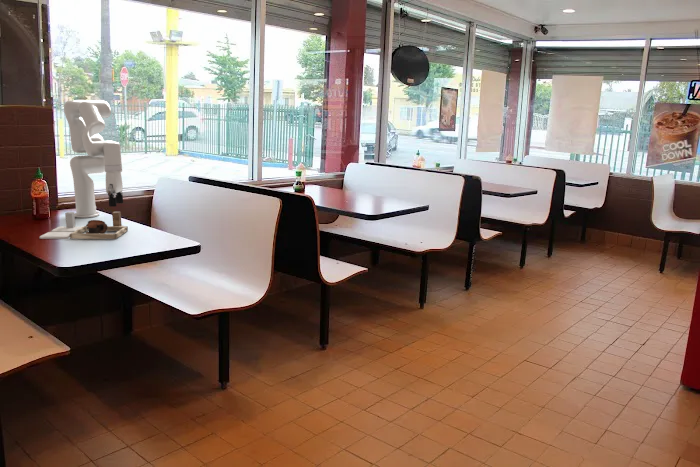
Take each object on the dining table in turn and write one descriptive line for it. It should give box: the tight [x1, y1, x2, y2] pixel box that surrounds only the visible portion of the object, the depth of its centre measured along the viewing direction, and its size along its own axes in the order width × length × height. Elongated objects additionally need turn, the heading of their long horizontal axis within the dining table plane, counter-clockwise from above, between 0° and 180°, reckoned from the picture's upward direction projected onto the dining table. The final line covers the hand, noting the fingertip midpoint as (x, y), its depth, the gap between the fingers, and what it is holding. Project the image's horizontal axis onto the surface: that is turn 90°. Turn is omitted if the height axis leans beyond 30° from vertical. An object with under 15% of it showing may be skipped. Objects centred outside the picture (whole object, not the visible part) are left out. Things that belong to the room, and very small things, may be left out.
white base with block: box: [39, 211, 83, 240], centre depth 273 cm, size 21×12×8 cm, turn 3°
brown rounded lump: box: [84, 219, 109, 234], centre depth 271 cm, size 12×10×8 cm
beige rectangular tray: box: [69, 211, 129, 240], centre depth 274 cm, size 24×20×8 cm
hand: (116, 204), depth 281 cm, fingers open, 9 cm apart
